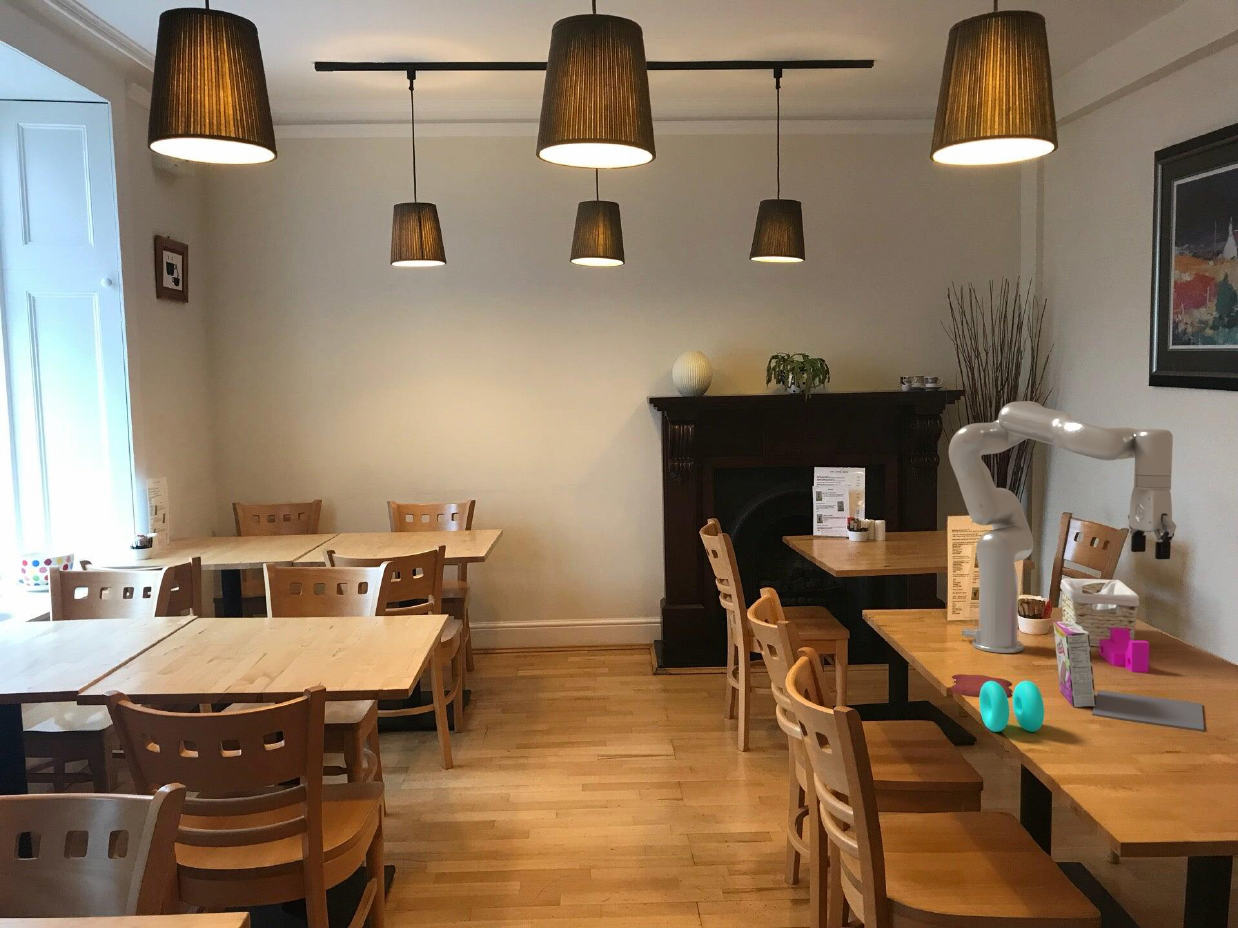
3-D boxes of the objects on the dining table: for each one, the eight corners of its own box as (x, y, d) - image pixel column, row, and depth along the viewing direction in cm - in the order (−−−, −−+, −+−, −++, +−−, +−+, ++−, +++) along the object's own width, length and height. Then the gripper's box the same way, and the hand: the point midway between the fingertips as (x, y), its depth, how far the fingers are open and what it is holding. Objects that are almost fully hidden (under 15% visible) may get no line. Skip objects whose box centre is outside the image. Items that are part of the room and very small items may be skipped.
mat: (1091, 715, 196) (1091, 713, 196) (1098, 691, 212) (1098, 689, 212) (1203, 731, 186) (1204, 729, 186) (1201, 705, 202) (1201, 703, 202)
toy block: (1099, 655, 241) (1099, 627, 241) (1125, 656, 240) (1125, 627, 240) (1120, 672, 227) (1121, 642, 226) (1148, 673, 226) (1149, 642, 225)
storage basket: (1058, 626, 272) (1059, 576, 271) (1120, 629, 267) (1121, 578, 266) (1072, 647, 249) (1073, 593, 248) (1140, 651, 244) (1141, 595, 243)
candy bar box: (1058, 692, 212) (1052, 621, 211) (1082, 691, 211) (1075, 619, 210) (1072, 708, 201) (1065, 633, 200) (1097, 707, 200) (1090, 632, 199)
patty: (950, 677, 226) (950, 669, 226) (1012, 683, 221) (1012, 674, 221) (947, 699, 210) (947, 690, 210) (1014, 705, 205) (1014, 696, 204)
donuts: (977, 721, 194) (977, 674, 193) (1025, 721, 194) (1026, 674, 193) (994, 739, 184) (995, 689, 183) (1046, 739, 184) (1047, 689, 183)
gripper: (1116, 479, 225) (1114, 549, 227) (1158, 486, 208) (1155, 562, 209) (1147, 478, 225) (1144, 548, 227) (1191, 486, 208) (1189, 561, 209)
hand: (1150, 555), depth 218 cm, fingers open, 9 cm apart
